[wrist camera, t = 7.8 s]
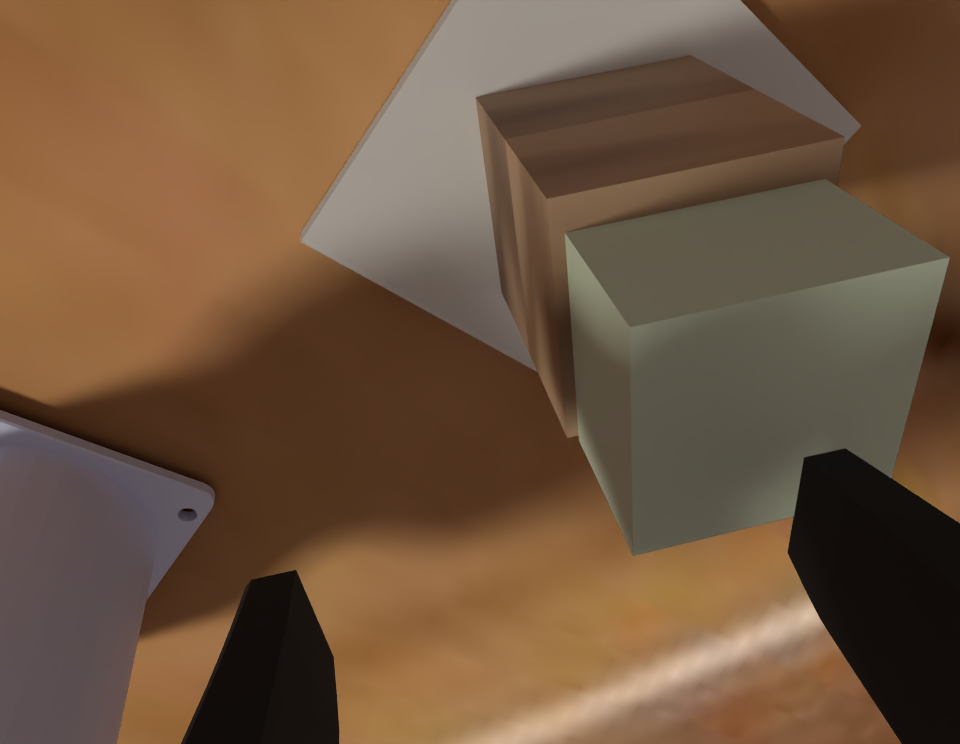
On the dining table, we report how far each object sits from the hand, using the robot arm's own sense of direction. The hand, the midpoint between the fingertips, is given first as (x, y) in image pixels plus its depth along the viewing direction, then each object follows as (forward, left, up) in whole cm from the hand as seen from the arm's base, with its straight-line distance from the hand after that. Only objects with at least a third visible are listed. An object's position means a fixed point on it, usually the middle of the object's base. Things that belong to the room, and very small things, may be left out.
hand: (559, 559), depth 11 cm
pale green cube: (+3, -2, -4) cm, 5 cm away
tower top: (+3, -2, -7) cm, 8 cm away
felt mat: (+3, -2, -10) cm, 11 cm away
